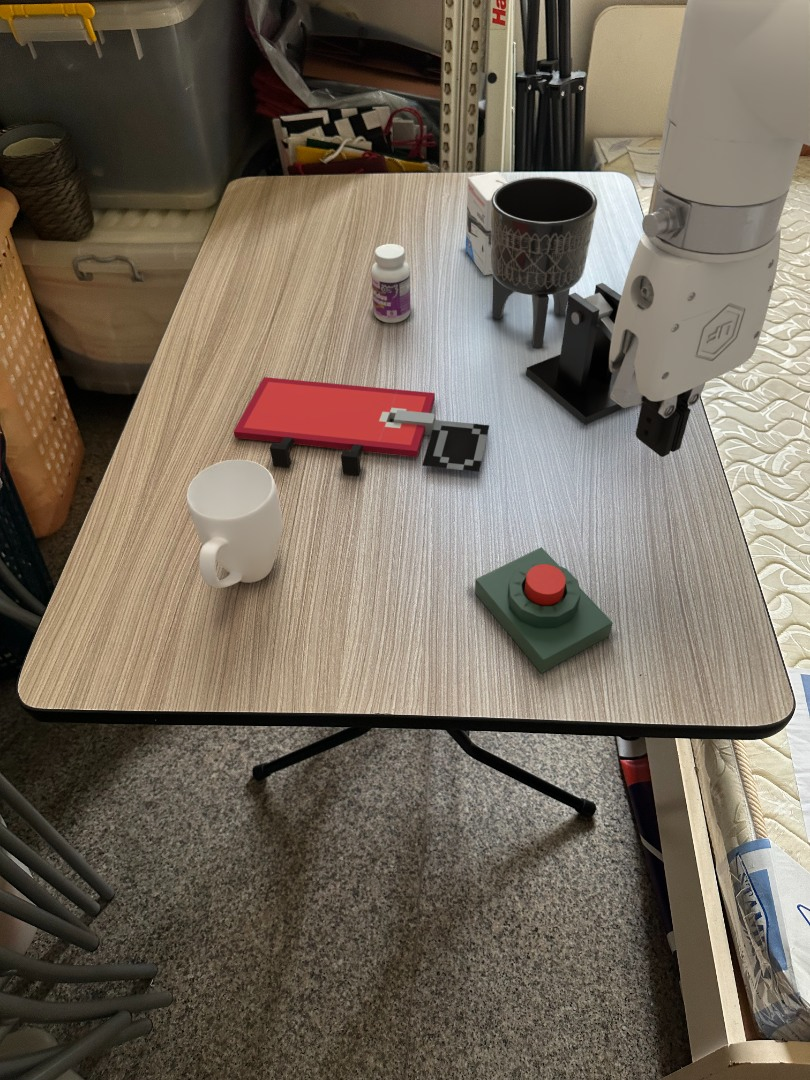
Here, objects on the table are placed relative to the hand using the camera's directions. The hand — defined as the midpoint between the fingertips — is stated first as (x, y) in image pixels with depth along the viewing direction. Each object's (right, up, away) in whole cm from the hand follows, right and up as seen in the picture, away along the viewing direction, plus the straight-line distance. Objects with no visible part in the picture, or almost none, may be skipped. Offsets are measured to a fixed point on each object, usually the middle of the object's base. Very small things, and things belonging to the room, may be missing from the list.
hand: (656, 443), depth 61 cm
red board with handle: (-25, +5, +34) cm, 43 cm away
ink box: (-7, +36, +61) cm, 71 cm away
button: (-6, -12, +13) cm, 19 cm away
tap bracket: (+3, +12, +39) cm, 41 cm away
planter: (-2, +22, +49) cm, 54 cm away
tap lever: (+5, +15, +30) cm, 34 cm away
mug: (-36, -12, +20) cm, 42 cm away
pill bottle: (-21, +25, +52) cm, 61 cm away
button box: (-6, -15, +15) cm, 22 cm away
